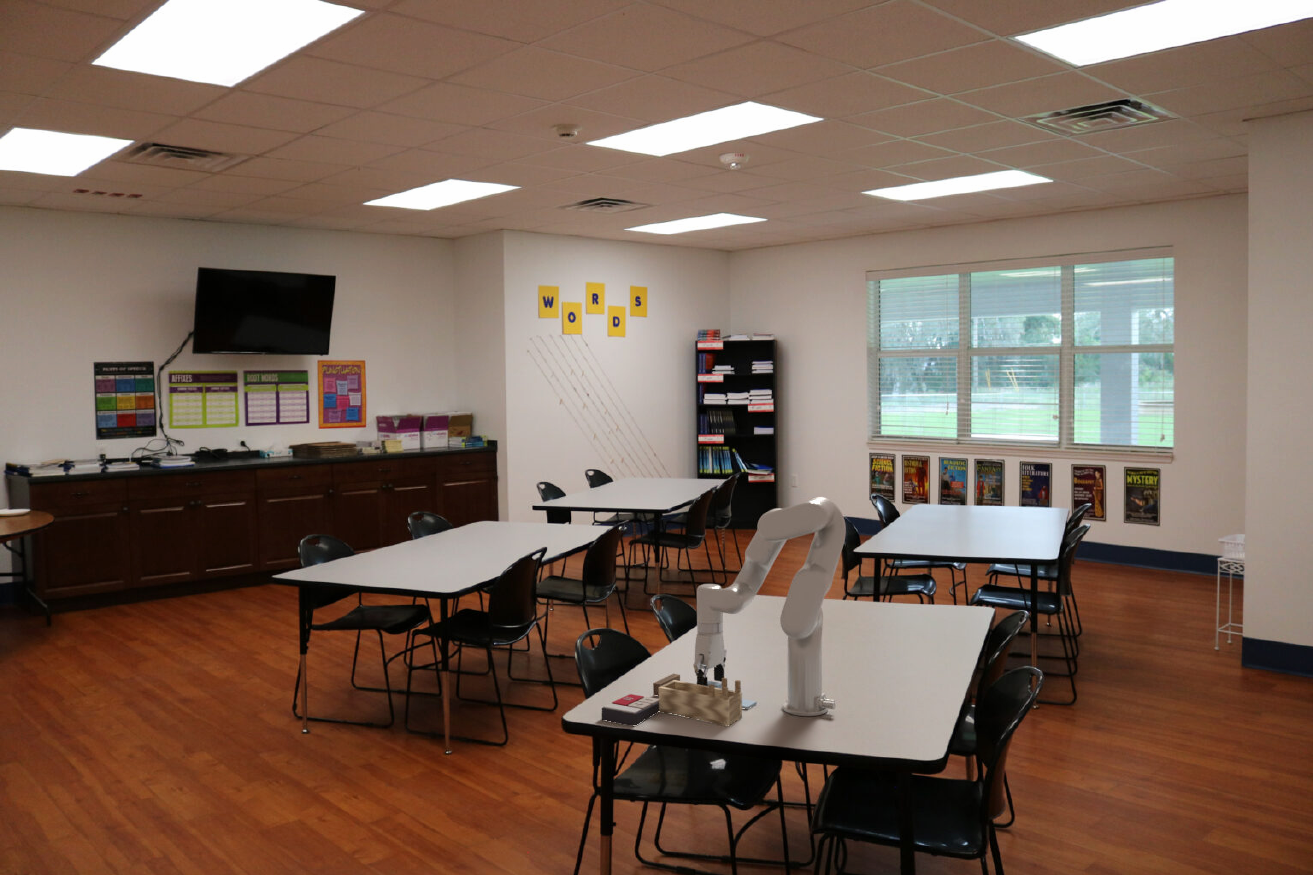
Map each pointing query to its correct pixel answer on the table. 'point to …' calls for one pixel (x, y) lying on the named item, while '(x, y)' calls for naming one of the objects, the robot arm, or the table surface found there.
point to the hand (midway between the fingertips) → (710, 685)
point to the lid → (746, 703)
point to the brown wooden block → (664, 682)
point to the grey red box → (630, 709)
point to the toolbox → (702, 701)
